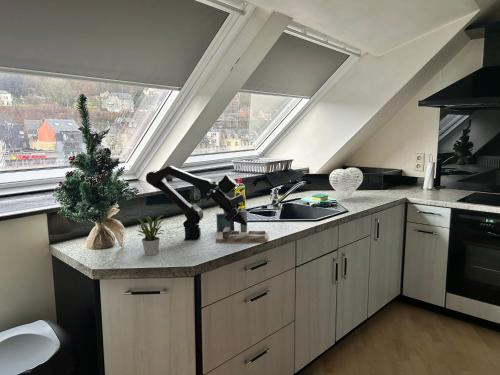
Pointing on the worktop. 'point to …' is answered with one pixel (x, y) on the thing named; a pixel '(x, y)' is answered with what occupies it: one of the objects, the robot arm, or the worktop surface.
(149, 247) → the house plant
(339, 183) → the heart
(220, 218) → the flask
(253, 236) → the bench
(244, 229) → the handle
